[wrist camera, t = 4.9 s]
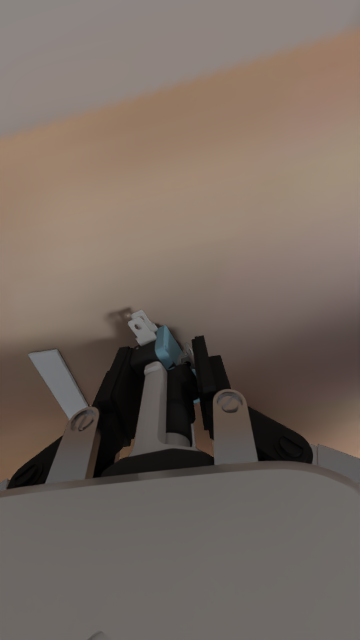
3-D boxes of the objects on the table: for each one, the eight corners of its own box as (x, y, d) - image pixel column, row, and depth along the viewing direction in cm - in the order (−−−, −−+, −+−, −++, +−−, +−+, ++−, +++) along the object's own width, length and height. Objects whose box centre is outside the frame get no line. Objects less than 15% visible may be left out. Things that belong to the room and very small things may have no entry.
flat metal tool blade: (57, 349, 14) (55, 350, 13) (115, 455, 20) (115, 457, 19) (29, 353, 14) (27, 354, 13) (96, 457, 20) (95, 460, 19)
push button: (101, 325, 12) (-78, 607, 3) (178, 287, 11) (203, 540, 2) (156, 393, 15) (134, 642, 6) (220, 366, 14) (303, 617, 5)
